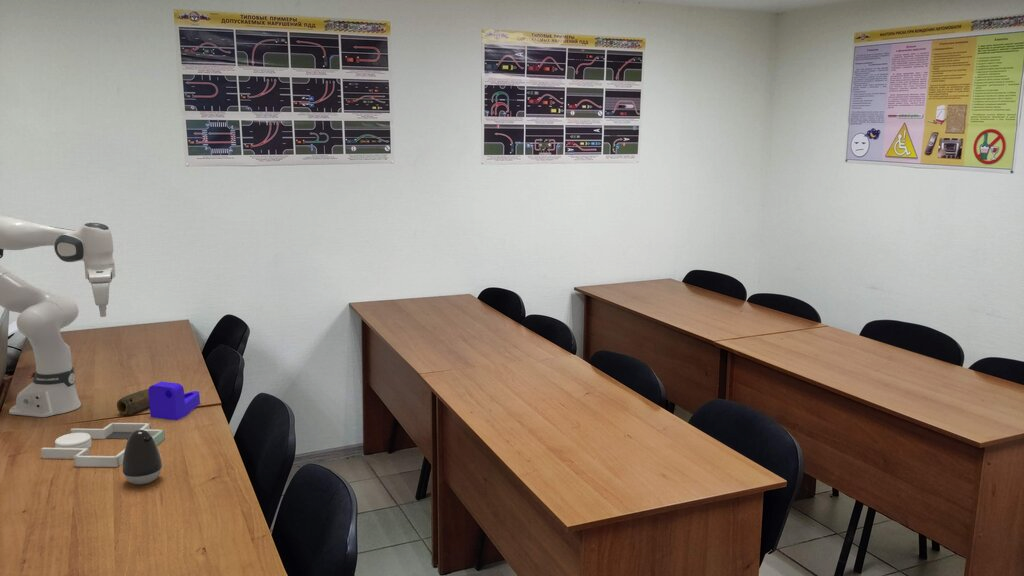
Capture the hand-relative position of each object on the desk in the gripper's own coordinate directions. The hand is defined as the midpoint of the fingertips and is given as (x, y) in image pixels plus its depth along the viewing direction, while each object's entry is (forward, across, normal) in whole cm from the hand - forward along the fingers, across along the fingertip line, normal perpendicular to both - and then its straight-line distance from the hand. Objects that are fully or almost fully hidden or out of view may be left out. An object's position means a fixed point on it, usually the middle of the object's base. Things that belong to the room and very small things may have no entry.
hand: (103, 313), depth 269 cm
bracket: (+38, -2, +22) cm, 44 cm away
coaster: (+38, +21, -11) cm, 45 cm away
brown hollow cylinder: (+38, -8, +9) cm, 40 cm away
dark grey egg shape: (+38, +56, +8) cm, 68 cm away
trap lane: (+38, +26, -2) cm, 45 cm away
